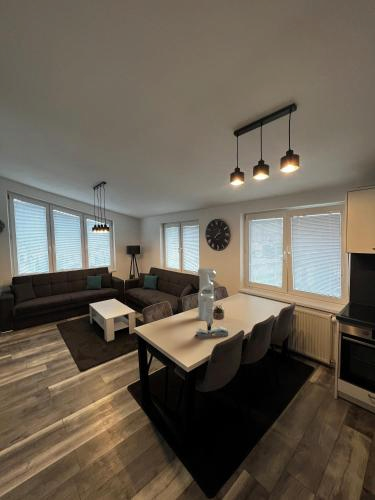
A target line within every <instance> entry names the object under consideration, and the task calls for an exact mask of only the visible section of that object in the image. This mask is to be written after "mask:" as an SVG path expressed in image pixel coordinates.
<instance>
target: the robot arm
mask: <svg viewBox="0 0 375 500" xmlns="http://www.w3.org/2000/svg"><path fill="white" fill-rule="evenodd" d="M197 275H198V277H199V291H198V292H197V298H198V300H197V301H198V309H197V310H198V316H197V317H196V319H197V320H198V321H204V322H206V324H207V327H206V330H211V328H212V325H213V323H214V309H215V308H214V305H215V304H214V301H215V296H214V289H215V288H214V287H215V286H214V282H212V281H211V280H215V279H216V278H217V272H216V270H215V269H214V268H212V267H211V268H210V267H209V268H208V267H207V268H206V267H201V268H198V269H197Z"/></svg>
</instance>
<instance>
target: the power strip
mask: <svg viewBox="0 0 375 500" xmlns="http://www.w3.org/2000/svg"><path fill="white" fill-rule="evenodd" d="M217 329H218V328H217ZM206 330H207V329H206ZM207 331H208V330H207ZM228 336H229V331H228V330H227V331H224V330H220V329H218V330H217V331H213V332H209V331H208V333H204V332H200V331H199V330H198V331H197V330H196V332H195V334H194V337H196V338H197V339H198V340H203V339H213V338H221V337H228Z"/></svg>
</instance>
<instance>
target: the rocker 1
mask: <svg viewBox="0 0 375 500" xmlns="http://www.w3.org/2000/svg"><path fill="white" fill-rule="evenodd" d="M198 331H200V332H204V333H208V331H207V329H205V328H204V329H203V328H201V327H198Z"/></svg>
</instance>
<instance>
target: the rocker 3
mask: <svg viewBox="0 0 375 500" xmlns="http://www.w3.org/2000/svg"><path fill="white" fill-rule="evenodd" d="M216 328H217V329H220V330H224V331H228V329H227V328H225V327H223V326H217V327H216Z"/></svg>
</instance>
